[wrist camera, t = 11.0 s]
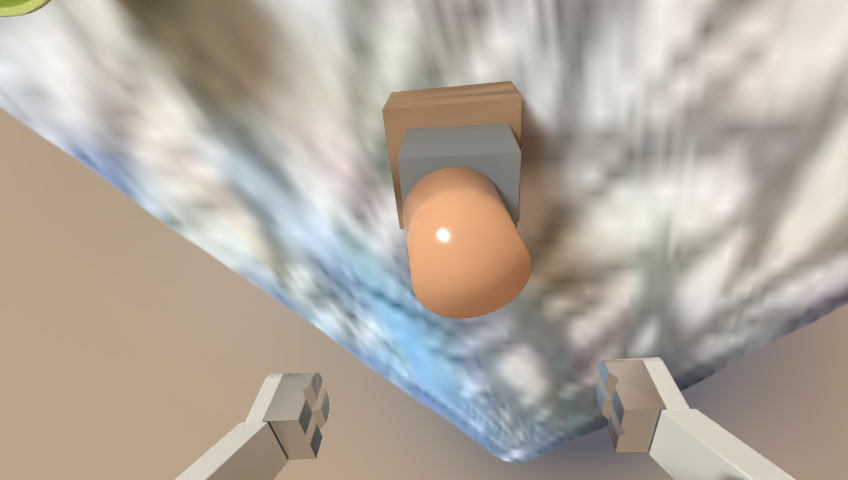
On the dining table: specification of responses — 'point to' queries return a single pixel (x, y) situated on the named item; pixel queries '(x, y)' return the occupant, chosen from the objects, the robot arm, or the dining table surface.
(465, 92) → the tower base
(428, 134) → the tower top
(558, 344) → the dining table surface
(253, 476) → the robot arm
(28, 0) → the plant pot
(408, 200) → the terracotta cylinder
